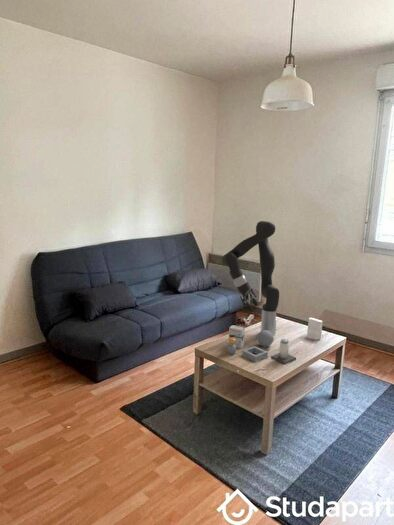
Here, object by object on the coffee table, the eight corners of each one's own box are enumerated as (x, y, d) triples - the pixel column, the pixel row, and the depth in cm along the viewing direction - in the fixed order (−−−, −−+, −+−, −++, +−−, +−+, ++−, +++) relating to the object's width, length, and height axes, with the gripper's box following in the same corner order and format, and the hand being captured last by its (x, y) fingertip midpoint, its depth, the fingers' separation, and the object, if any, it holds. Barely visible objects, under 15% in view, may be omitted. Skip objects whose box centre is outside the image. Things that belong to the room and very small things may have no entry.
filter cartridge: (282, 353, 226) (284, 337, 223) (289, 357, 222) (291, 341, 220) (277, 356, 223) (278, 340, 220) (284, 359, 219) (285, 343, 217)
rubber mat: (281, 353, 229) (281, 351, 229) (295, 359, 222) (296, 357, 222) (270, 357, 223) (271, 356, 223) (285, 364, 216) (285, 362, 215)
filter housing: (243, 346, 238) (244, 338, 237) (267, 356, 224) (268, 348, 223) (225, 352, 228) (225, 344, 227) (249, 364, 214) (249, 355, 213)
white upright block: (304, 336, 256) (305, 319, 254) (311, 333, 262) (313, 316, 260) (316, 340, 250) (318, 323, 247) (323, 337, 256) (325, 320, 253)
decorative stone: (272, 350, 233) (273, 334, 231) (255, 348, 235) (256, 332, 233) (273, 343, 243) (274, 328, 241) (257, 341, 245) (258, 326, 243)
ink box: (227, 345, 238) (228, 327, 236) (231, 342, 242) (232, 324, 240) (240, 348, 234) (242, 330, 232) (243, 345, 238) (245, 327, 236)
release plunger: (231, 340, 229) (232, 336, 228) (236, 343, 226) (237, 339, 225) (227, 342, 226) (227, 338, 226) (232, 344, 223) (232, 340, 223)
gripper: (241, 282, 240) (253, 306, 240) (231, 289, 228) (244, 314, 228) (251, 278, 236) (263, 302, 236) (242, 285, 224) (255, 310, 224)
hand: (254, 308), depth 232 cm, fingers open, 8 cm apart
